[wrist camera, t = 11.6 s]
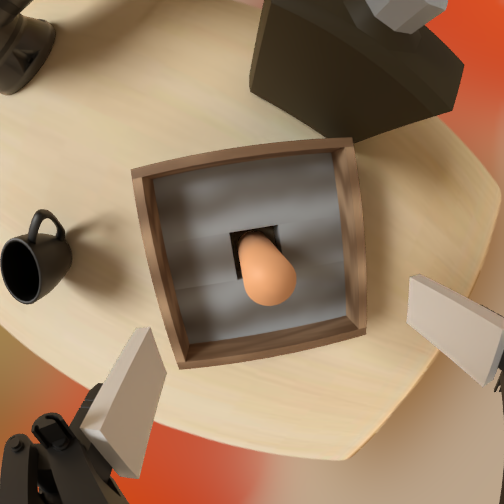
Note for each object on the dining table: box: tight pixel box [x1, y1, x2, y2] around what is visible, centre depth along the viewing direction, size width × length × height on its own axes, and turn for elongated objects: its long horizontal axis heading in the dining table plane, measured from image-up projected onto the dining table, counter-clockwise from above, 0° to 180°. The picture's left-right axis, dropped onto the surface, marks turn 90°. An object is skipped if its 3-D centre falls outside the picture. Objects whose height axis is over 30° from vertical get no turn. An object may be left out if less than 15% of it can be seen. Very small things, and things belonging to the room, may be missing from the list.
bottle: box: [249, 0, 464, 143], centre depth 18 cm, size 8×16×25 cm, turn 60°
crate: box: [131, 137, 367, 370], centre depth 30 cm, size 22×22×8 cm
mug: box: [0, 209, 72, 304], centre depth 27 cm, size 8×12×10 cm
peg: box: [237, 231, 297, 306], centre depth 27 cm, size 4×4×14 cm
